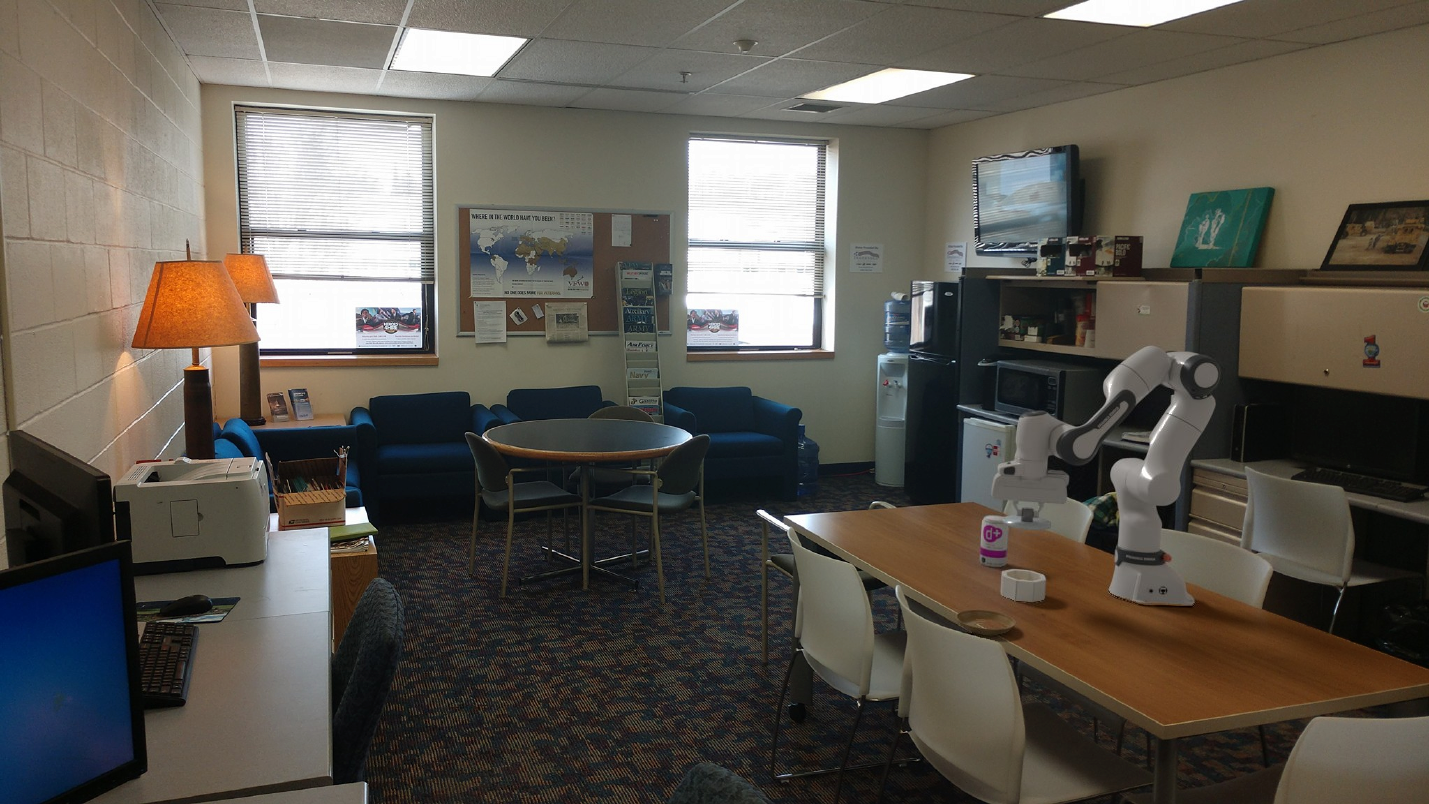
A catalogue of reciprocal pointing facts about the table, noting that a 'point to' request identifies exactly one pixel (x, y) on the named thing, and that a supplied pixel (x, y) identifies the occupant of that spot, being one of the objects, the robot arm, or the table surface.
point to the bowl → (1023, 585)
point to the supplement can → (994, 541)
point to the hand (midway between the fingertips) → (1027, 516)
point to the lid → (1027, 521)
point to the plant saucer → (970, 616)
